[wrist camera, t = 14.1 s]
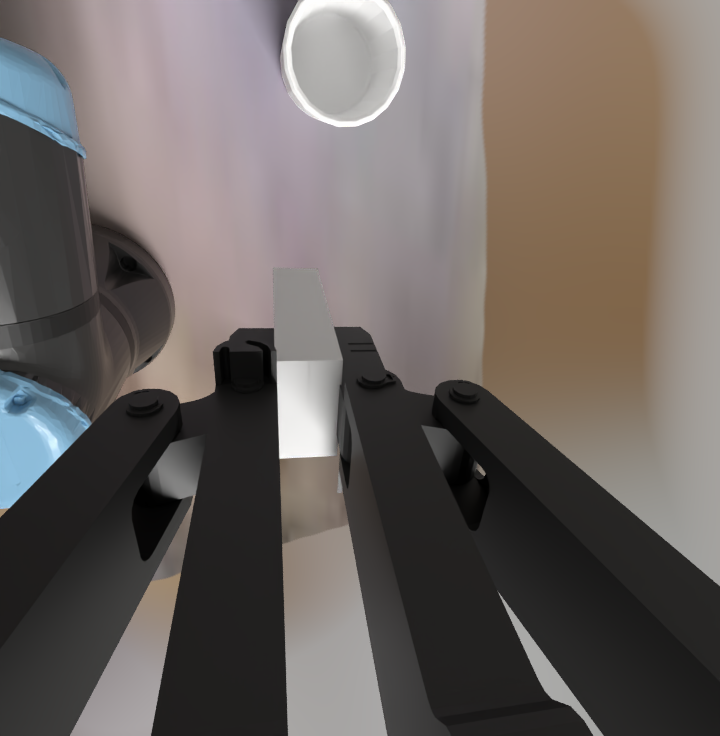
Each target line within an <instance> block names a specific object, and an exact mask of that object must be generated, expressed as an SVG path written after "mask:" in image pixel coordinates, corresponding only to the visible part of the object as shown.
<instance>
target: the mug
mask: <svg viewBox="0 0 720 736" xmlns="http://www.w3.org/2000/svg"><path fill="white" fill-rule="evenodd" d="M405 49H406V45H405V41H404V37H403V32H402V28H401V23H400V21H399V20H398V18H397V16H396V14H395V12H394V10H393V8H392V7H391V5H390V3H389V2H388V1H387V0H299V1H298V2H297V4H296V6H295V8H294V10H293V12H292V14H291V16H290V17H289V19H288V21H287V25H286V30H285V34H284V39H283V44H282V50H281V55H280V63H281V75H282V79H283V81H284V84H285V87H286V90H287V92H288V94H289V95H290V97H291V98H292V100H293V101H294V102H295V104H296V105H297V107H298V108H300V109H301V110H302V111H304V112H305V113H306V114H307V115H309V116H310V117H312V118H315V119H317V120H320V121H323V122H326V123H329V124H331V125H334V126H337V127H351V126H358V125H361V124H363V123H366V122H369V121H371V120H373V119H374V118H376V117H377V116H378V115H379V114H380V113H381V112H383V111H384V110H385V109H386V108H387V107H388V106H389V104H390V103H391V101H392V100H393V98H394V96H395V95H396V93H397V92H398V90H399V87H400V84H401V80H402V77H403V73H404V70H405Z"/></svg>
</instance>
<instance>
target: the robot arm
mask: <svg viewBox="0 0 720 736" xmlns="http://www.w3.org/2000/svg"><path fill="white" fill-rule="evenodd" d="M83 159H86V151H85V148H84V147H83V146H82V145H81V144H80V139H79V133H78V127H77V121H76V115H75V109H74V103H73V97H72V93H71V90H70V87H69V85H68V83H67V81H66V79H65V78H64V76H63V75H62V73H61V72H60V71H59V70H58V69H57V68H56V67H55V66H54V65H53V64H52V63H51V62H50V61H49V60H47V59H46V58H45V57H43V56H41V55H40V54H38V53H36V52H34V51H32V50H30V49H28V48H26V47H24V46H21V45H19V44H16V43H14V42H12V41H9V40H7V39H4V38H1V37H0V509H3V508H9V509H8V510H7V511H6V512H5V513H4V514H3V515H2V516H1V517H0V736H70V734H71V732H72V730H73V728H74V726H75V725H76V723H77V721H78V719H79V717H80V715H81V713H82V711H83V709H84V707H85V706H86V704H87V702H88V700H89V698H90V696H91V694H92V692H93V690H94V688H95V687H96V685H97V683H98V681H99V679H100V677H101V675H102V673H103V671H104V669H105V668H106V666H107V663H108V662H109V660H110V658H111V656H112V654H113V652H114V650H115V648H116V647H117V645H118V643H119V641H120V639H121V637H122V635H123V633H124V631H125V629H126V627H127V626H128V624H129V622H130V620H131V618H132V616H133V614H134V612H135V610H136V608H137V606H138V604H139V602H140V601H141V599H142V597H143V595H144V593H145V591H146V589H147V587H148V585H149V583H150V582H151V580H152V578H153V576H154V574H155V572H156V570H157V568H158V566H159V565H160V563H161V561H162V559H163V557H164V555H165V553H166V551H167V549H168V547H169V545H170V544H171V542H172V540H173V538H174V536H175V534H176V532H177V530H178V528H179V526H180V524H181V523H182V521H183V519H184V517H185V515H186V513H187V511H188V509H189V507H190V505H191V502H192V498H193V495H196V496H195V501H194V506H193V512H192V517H191V523H190V528H189V533H188V539H187V544H186V550H185V555H184V560H183V566H182V571H181V577H180V582H179V588H178V593H177V599H176V604H175V610H174V615H173V620H172V625H171V631H170V636H169V642H168V647H167V652H166V658H165V663H164V668H163V674H162V679H161V685H160V690H159V696H158V701H157V706H156V712H155V717H154V723H153V728H152V733H151V736H288V725H287V694H286V662H285V661H286V660H285V629H284V628H285V626H284V593H283V561H282V527H281V494H280V461H279V459H280V458H299V457H319V456H337V447H338V444H339V449H340V462H339V476H338V491H337V493H342V489H343V494H344V500H345V505H346V511H347V516H348V522H349V527H350V532H351V537H352V543H353V549H354V554H355V559H356V565H357V571H358V576H359V582H360V587H361V592H362V598H363V604H364V609H365V615H366V620H367V626H368V631H369V637H370V642H371V648H372V653H373V659H374V664H375V670H376V675H377V680H378V686H379V692H380V697H381V702H382V708H383V713H384V719H385V724H386V730H387V735H388V736H593V734H592V733H591V731H590V730H589V728H588V726H587V725H586V723H585V721H584V720H583V719H582V718H581V717H580V716H579V715H578V714H577V713H576V712H575V711H574V710H573V709H572V707H571V706H569V705H566V704H563V703H560V702H558V701H555V700H552V699H551V698H550V697H549V696H548V694H547V693H546V692H545V691H544V689H543V687H542V686H541V684H540V682H539V680H538V678H537V676H536V674H535V672H534V669H533V667H532V665H531V663H530V661H529V659H528V656H527V654H526V652H525V650H524V648H523V645H522V644H521V641H520V639H519V637H518V635H517V632H516V630H515V628H514V626H513V624H512V622H511V619H510V617H509V615H508V613H507V611H506V609H505V606H504V604H503V602H502V600H501V598H500V596H499V593H500V595H501V596H502V597H503V599H504V600H505V601H506V603H507V604H508V605H509V607H510V608H511V610H512V611H513V612H514V614H515V615H516V616H517V618H518V619H519V620H520V622H521V623H522V625H523V626H524V627H525V629H526V630H527V631H528V633H529V634H530V636H531V637H532V638H533V640H534V641H535V642H536V644H537V645H538V646H539V648H540V649H541V650H542V652H543V653H544V655H545V656H546V657H547V659H548V660H549V661H550V663H551V664H552V666H553V667H554V668H555V670H556V671H557V672H558V674H559V675H560V676H561V678H562V679H563V681H564V682H565V683H566V685H567V686H568V687H569V689H570V690H571V691H572V693H573V694H574V696H575V697H576V698H577V700H578V701H579V702H580V704H581V705H582V706H583V708H584V709H585V710H586V712H587V713H588V715H589V716H590V717H591V719H592V720H593V722H594V723H595V724H596V726H597V727H598V728H599V730H600V731H601V732H602V734H603V735H604V736H720V586H719V585H718V584H716V583H715V582H714V581H713V580H712V579H710V578H709V577H708V576H707V575H706V574H704V573H703V572H702V571H701V570H700V569H699V568H697V567H696V566H695V565H694V564H692V563H691V562H690V561H689V560H688V559H687V558H686V557H684V556H683V555H682V554H681V553H679V552H678V551H677V550H676V549H675V548H674V547H672V546H671V545H670V544H669V543H668V542H667V541H665V540H664V539H663V538H662V537H661V536H659V535H658V534H657V533H656V532H655V531H653V530H652V529H651V528H650V527H649V526H648V525H646V524H645V523H644V522H643V521H642V520H640V519H639V518H638V517H637V516H636V515H635V514H633V513H632V512H631V511H630V510H629V509H627V508H626V507H625V506H624V505H623V504H621V503H620V502H619V501H618V500H617V499H616V498H614V497H613V496H612V495H611V494H610V493H608V492H607V491H606V490H605V489H604V488H602V487H601V486H600V485H599V484H598V483H597V482H595V481H594V480H593V479H592V478H591V477H590V476H588V475H587V474H586V473H585V472H584V471H582V470H581V469H580V468H579V467H578V466H576V465H575V464H574V463H573V462H572V461H571V460H569V459H568V458H567V457H566V456H565V455H563V454H562V453H561V452H560V451H559V450H558V449H556V448H555V447H554V446H552V445H551V444H550V443H549V442H548V441H547V440H546V439H544V438H543V437H542V436H541V435H540V434H539V433H537V432H536V431H535V430H534V429H533V428H531V427H530V426H529V425H528V424H527V423H525V422H524V421H523V420H522V419H521V418H520V417H518V416H517V415H516V414H515V413H514V412H512V411H511V410H510V409H509V408H508V407H507V406H505V405H504V404H503V403H502V402H501V401H499V400H498V399H497V398H496V397H495V396H494V395H492V394H491V393H490V392H489V391H487V390H486V389H484V388H483V387H481V386H480V385H477V384H474V383H472V382H470V381H465V380H464V381H463V380H449V381H445V382H442V383H440V384H439V385H438V386H437V387H436V389H435V394H434V396H432V395H426V394H420V393H415V392H410V391H407V390H405V389H404V387H403V385H402V383H401V381H400V379H399V378H398V377H397V376H396V375H395V374H393V373H391V372H389V371H387V370H385V368H384V366H383V363H382V361H381V359H380V356H379V354H378V352H377V349H376V347H375V345H374V342H373V340H372V338H371V335H370V334H369V333H368V332H366V331H365V330H363V329H362V328H361V327H334V326H333V322H332V319H331V315H330V312H329V308H328V305H327V301H326V298H325V294H324V290H323V287H322V283H321V280H320V276H319V273H318V269H311V268H273V295H274V328H239V329H238V330H236V331H235V332H234V333H233V334H232V335H231V336H230V339H229V341H225V342H223V343H221V344H220V345H218V346H216V348H215V349H214V351H213V359H214V370H215V381H216V387H215V392H214V393H212V394H211V395H209V396H207V397H204V398H202V399H199V400H195V401H191V402H186V403H182V404H180V402H179V399H178V397H177V396H176V395H175V394H173V393H172V392H170V391H166V390H162V389H142V390H137V391H133V392H131V393H129V394H126V395H124V396H121V397H120V398H118V399H117V400H116V398H117V396H118V394H119V392H120V390H121V388H122V386H123V384H124V382H125V379H126V378H127V377H129V376H131V375H132V374H134V373H136V372H138V371H139V370H141V369H143V368H144V367H146V366H147V365H148V364H150V363H151V362H152V361H153V360H154V359H155V358H156V357H157V356H158V354H159V353H160V352H161V351H162V349H163V348H164V346H165V344H166V342H167V340H168V337H169V335H170V333H171V330H172V327H173V324H174V317H175V304H174V298H173V294H172V290H171V287H170V285H169V283H168V280H167V278H166V277H165V275H164V273H163V272H162V270H161V269H160V267H159V266H158V264H157V263H156V262H155V261H154V260H153V259H152V258H151V256H150V255H149V254H148V253H146V252H145V251H144V250H143V249H142V248H141V247H140V246H138V245H137V244H135V243H134V242H133V241H131V240H129V239H128V238H126V237H124V236H123V235H121V234H119V233H116V232H114V231H112V230H109V229H107V228H104V227H100V226H97V225H92V224H91V220H90V212H89V203H88V195H87V187H86V179H85V170H84V162H83ZM115 400H116V401H115ZM477 464H479V465H480V466H481V467H482V468H483V470H484V471H485V473H486V475H485V476H483V475H482V474H481V473H480V472H479V471H478V470H477V469H476V468H477ZM498 592H499V593H498Z"/></svg>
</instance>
